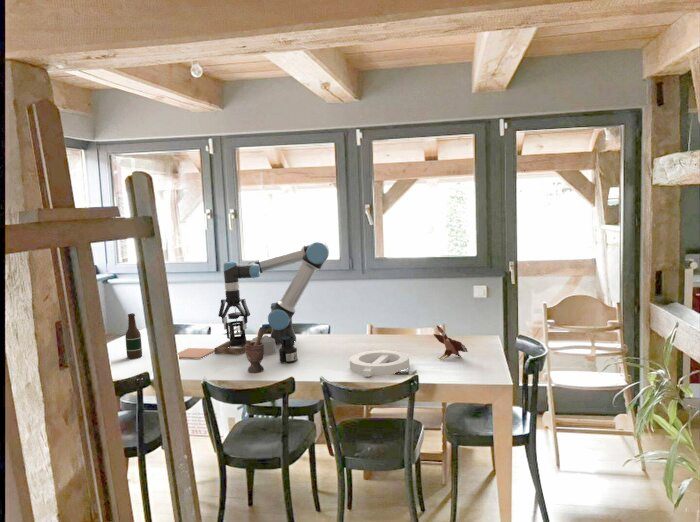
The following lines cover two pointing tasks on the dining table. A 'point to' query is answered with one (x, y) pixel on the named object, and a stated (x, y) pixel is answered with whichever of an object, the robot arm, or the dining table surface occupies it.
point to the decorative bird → (449, 344)
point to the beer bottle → (133, 339)
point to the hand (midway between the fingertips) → (235, 329)
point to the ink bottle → (288, 350)
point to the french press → (238, 339)
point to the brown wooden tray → (226, 350)
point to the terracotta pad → (195, 353)
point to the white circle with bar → (378, 362)
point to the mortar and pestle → (255, 353)
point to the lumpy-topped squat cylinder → (267, 344)
